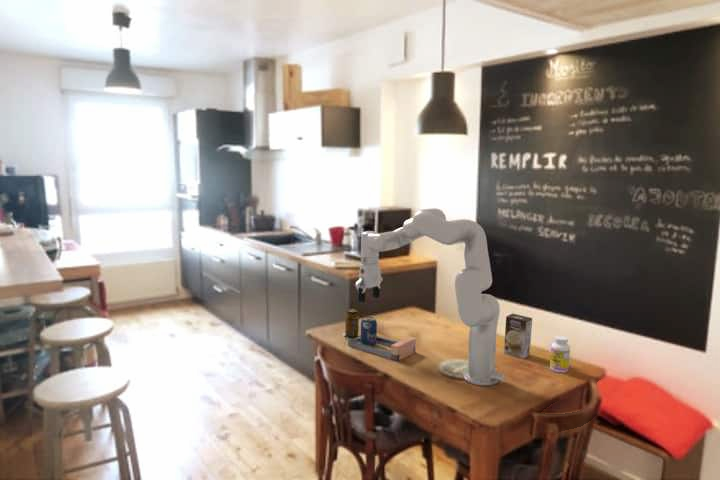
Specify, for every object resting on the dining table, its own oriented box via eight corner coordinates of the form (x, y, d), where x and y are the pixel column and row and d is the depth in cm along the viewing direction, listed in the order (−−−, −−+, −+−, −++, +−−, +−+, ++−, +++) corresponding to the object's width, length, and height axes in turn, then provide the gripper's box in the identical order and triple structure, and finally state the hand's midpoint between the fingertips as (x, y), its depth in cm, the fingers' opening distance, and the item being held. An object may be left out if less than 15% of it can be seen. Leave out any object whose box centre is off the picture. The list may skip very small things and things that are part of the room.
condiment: (357, 333, 233) (357, 308, 232) (361, 339, 225) (361, 313, 224) (342, 334, 232) (342, 309, 230) (345, 340, 224) (345, 314, 222)
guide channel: (415, 352, 210) (415, 346, 209) (397, 361, 200) (397, 355, 199) (367, 338, 226) (367, 333, 226) (348, 346, 216) (348, 340, 216)
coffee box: (502, 353, 210) (504, 316, 207) (510, 349, 214) (512, 313, 212) (523, 359, 203) (526, 320, 201) (530, 354, 208) (532, 317, 206)
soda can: (370, 349, 212) (370, 322, 211) (357, 345, 217) (357, 318, 215) (379, 344, 218) (380, 318, 216) (366, 341, 222) (367, 315, 220)
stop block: (415, 352, 210) (415, 338, 209) (397, 361, 200) (397, 346, 199) (409, 350, 211) (409, 336, 211) (391, 359, 202) (391, 345, 201)
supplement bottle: (546, 367, 195) (548, 336, 193) (558, 365, 197) (560, 333, 195) (559, 374, 189) (561, 341, 187) (572, 371, 191) (574, 339, 189)
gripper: (363, 264, 203) (362, 305, 205) (389, 258, 216) (388, 297, 219) (349, 262, 208) (349, 302, 210) (375, 256, 221) (374, 294, 223)
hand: (369, 299), depth 214 cm, fingers open, 9 cm apart
